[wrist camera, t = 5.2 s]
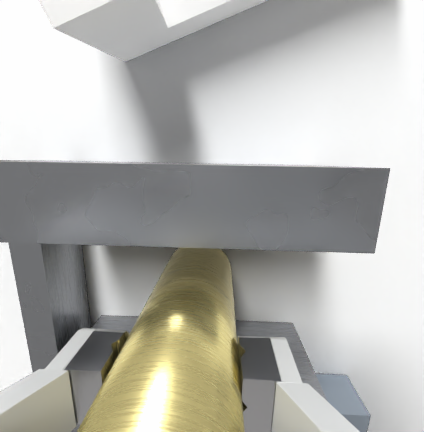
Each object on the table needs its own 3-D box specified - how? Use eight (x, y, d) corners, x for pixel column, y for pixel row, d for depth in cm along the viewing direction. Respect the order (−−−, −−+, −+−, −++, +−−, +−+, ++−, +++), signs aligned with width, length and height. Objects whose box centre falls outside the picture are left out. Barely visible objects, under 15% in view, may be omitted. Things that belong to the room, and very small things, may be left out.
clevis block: (309, 165, 12) (389, 168, 6) (288, 356, 15) (332, 481, 9) (45, 160, 13) (-103, 159, 7) (71, 347, 15) (-20, 459, 10)
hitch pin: (232, 242, 13) (343, 1125, 1) (230, 301, 14) (277, 1164, 2) (166, 240, 13) (-374, 1009, 1) (168, 298, 14) (-143, 1091, 2)
